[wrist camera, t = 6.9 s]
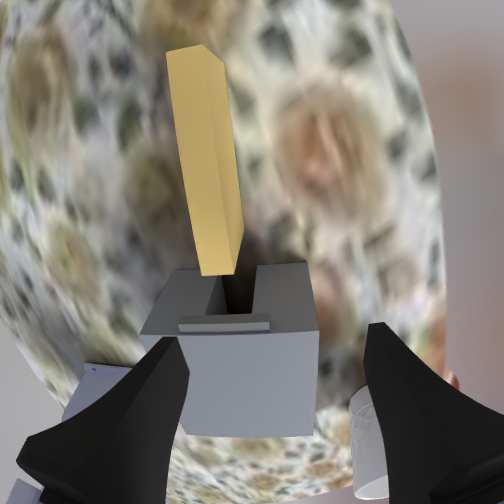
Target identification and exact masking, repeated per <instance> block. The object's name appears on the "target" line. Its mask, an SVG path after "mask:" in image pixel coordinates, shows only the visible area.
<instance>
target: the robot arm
mask: <svg viewBox="0 0 504 504" xmlns="http://www.w3.org/2000/svg"><path fill="white" fill-rule="evenodd" d="M363 364H364V370H365V375H366V381H367V386H368V389H369V392H370V396H371V399H372V402H373V406H374V409H375V412H376V416H377V419H378V422H379V426H380V429H381V433H382V438H383V443H384V449H385V456H386V465H387V474H388V486H389V504H504V415H502V414H500V413H498V412H496V411H494V410H491V409H489V408H487V407H485V406H483V405H482V404H480V403H478V402H476V401H474V400H473V399H471V398H470V397H468V396H466V395H465V394H463V393H461V392H460V391H458V390H457V389H456V388H454V387H453V386H451V385H450V384H449V383H447V382H446V381H445V380H443V379H442V378H441V377H440V376H438V375H437V374H436V373H435V372H434V371H433V370H431V369H430V368H429V367H428V366H427V365H426V364H425V363H424V362H423V361H422V360H421V359H420V358H418V357H417V356H416V355H415V354H414V353H413V352H412V351H411V350H410V349H409V348H408V347H407V346H406V345H405V343H404V342H403V341H402V340H401V339H400V338H399V337H398V336H397V335H396V334H395V333H394V332H393V331H392V330H391V329H390V328H389V326H388V325H387V324H386V323H385V322H380V323H373V324H369V325H368V333H367V340H366V347H365V354H364V360H363ZM83 368H84V370H85V371H86V373H85V374H84V376H83V378H82V379H81V381H80V383H79V385H78V387H77V388H76V390H75V392H74V394H73V395H72V397H71V399H70V401H69V403H68V405H67V406H66V408H65V410H64V413H63V416H62V422H61V423H60V424H58V425H56V426H54V427H52V428H49V429H47V430H45V431H42V432H40V433H37V434H35V435H32V436H29V437H27V439H26V441H25V443H24V445H23V447H22V449H21V451H20V453H19V455H18V457H17V459H16V462H17V464H18V465H19V467H20V468H21V469H23V470H24V471H25V472H26V473H27V474H29V475H30V476H31V477H32V478H34V479H35V480H36V481H38V482H39V483H40V484H42V488H41V490H39V489H37V488H35V487H34V486H32V485H30V484H28V483H26V482H24V481H23V480H21V479H17V480H16V482H15V484H14V486H13V489H12V491H11V493H10V496H9V498H8V500H7V503H6V504H168V500H167V496H166V488H167V478H168V469H169V462H170V456H171V449H172V445H173V440H174V437H175V433H176V430H177V426H178V423H179V420H180V416H181V413H182V409H183V406H184V403H185V399H186V395H187V390H188V384H189V376H190V371H189V368H188V365H187V363H186V360H185V357H184V354H183V352H182V349H181V346H180V343H179V340H178V338H177V336H163V337H162V338H161V339H160V340H159V341H158V342H157V343H156V344H155V345H154V346H153V347H152V348H151V349H150V350H149V351H148V353H147V354H146V355H145V356H144V357H143V358H142V359H141V360H140V361H139V362H138V363H137V364H136V365H135V366H134V367H133V368H127V367H117V366H108V365H100V364H92V363H84V365H83Z"/></svg>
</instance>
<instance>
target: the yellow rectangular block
mask: <svg viewBox="0 0 504 504" xmlns="http://www.w3.org/2000/svg"><path fill="white" fill-rule="evenodd" d="M166 59H167V68H168V76H169V85H170V93H171V100H172V108H173V115H174V122H175V129H176V136H177V142H178V149H179V155H180V162H181V168H182V174H183V180H184V186H185V191H186V197H187V203H188V208H189V213H190V219H191V224H192V229H193V235H194V240H195V245H196V250H197V255H198V260H199V264H200V269H201V274H202V276H211V275H229V274H234V271H235V267H236V263H237V258H238V254H239V250H240V246H241V241H242V237H243V233H244V221H243V213H242V205H241V197H240V189H239V181H238V173H237V165H236V157H235V149H234V141H233V133H232V125H231V117H230V108H229V100H228V92H227V84H226V75H225V67H224V63H223V62H222V61H221V60H220V59H218V58H217V57H216V56H215V55H214V54H213V53H212V52H211V51H209V50H208V49H207V48H206V47H205V46H204V45H203V44H201V45H196V46H191V47H186V48H182V49H177V50H173V51H169V52H166Z"/></svg>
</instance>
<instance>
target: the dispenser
mask: <svg viewBox="0 0 504 504" xmlns="http://www.w3.org/2000/svg"><path fill="white" fill-rule="evenodd" d="M139 336H140V338H141V341H142V343H143V346H144V348H145V350H146V353H148V351H149V350H150V349H151V348H152V347H153V346H154V345H155V344H156V343H157V342H158V341H159V340H160V339H161V338H162V337H163V336H177V338H178V340H179V343H180V346H181V349H182V352H183V354H184V357H185V360H186V363H187V365H188V368H189V371H190V376H189V384H188V390H187V395H186V399H185V403H184V406H183V409H182V413H181V416H180V420H179V421H180V423H181V425H182V427H183V429H184V431H185V432H186V434H187V435H199V436H214V437H241V438H269V437H296V436H311V435H313V430H314V419H315V406H316V391H317V374H318V353H319V326H318V320H317V314H316V308H315V302H314V297H313V291H312V286H311V280H310V275H309V270H308V264H307V262H299V263H285V264H270V265H257V272H256V281H255V290H254V300H253V309H252V314H231V315H228V310H227V305H226V300H225V294H224V289H223V283H222V278H221V275H211V276H202V274H201V269H188V270H174V271H173V273H172V275H171V276H170V278H169V280H168V282H167V284H166V285H165V287H164V289H163V291H162V293H161V294H160V296H159V298H158V300H157V302H156V304H155V305H154V307H153V309H152V311H151V313H150V315H149V317H148V319H147V320H146V322H145V324H144V326H143V328H142V330H141V332H140V334H139Z"/></svg>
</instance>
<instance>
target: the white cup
mask: <svg viewBox="0 0 504 504" xmlns="http://www.w3.org/2000/svg"><path fill="white" fill-rule="evenodd" d="M348 411H349V419H350V438H351V454H352V467H353V481H354V495H355V497H357V498H359V499H366V500H370V499H381V498H386V497H389V486H388V474H387V465H386V456H385V449H384V443H383V438H382V433H381V429H380V426H379V422H378V419H377V416H376V412H375V409H374V406H373V402H372V399H371V396H370V392H369V389H368V386H367V385H366V386H364V387H363V388H361V389H359V390H358V391H357V392H356V393H355V394H354V395H353V396H352V397H351V399H350V402H349V406H348Z"/></svg>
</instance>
